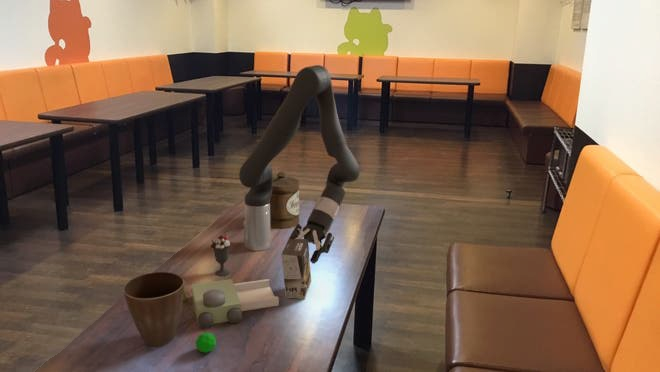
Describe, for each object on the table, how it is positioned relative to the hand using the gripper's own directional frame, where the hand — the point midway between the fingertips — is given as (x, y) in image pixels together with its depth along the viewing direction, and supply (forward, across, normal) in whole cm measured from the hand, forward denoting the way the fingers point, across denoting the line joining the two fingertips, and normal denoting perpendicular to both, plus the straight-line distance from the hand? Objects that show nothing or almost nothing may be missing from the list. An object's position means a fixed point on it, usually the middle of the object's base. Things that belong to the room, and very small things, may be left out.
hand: (301, 259), depth 168 cm
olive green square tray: (+28, -28, -12) cm, 41 cm away
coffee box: (+8, 0, +6) cm, 10 cm away
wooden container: (-23, -45, +38) cm, 63 cm away
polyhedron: (+36, +1, -20) cm, 42 cm away
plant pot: (+39, -13, -23) cm, 47 cm away
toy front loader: (+21, -9, -6) cm, 24 cm away
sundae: (+12, -29, +4) cm, 32 cm away
